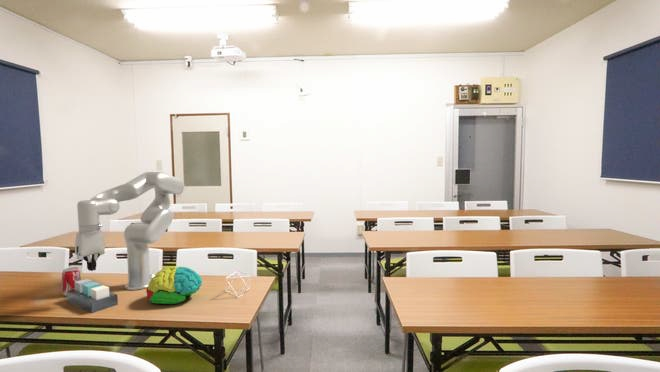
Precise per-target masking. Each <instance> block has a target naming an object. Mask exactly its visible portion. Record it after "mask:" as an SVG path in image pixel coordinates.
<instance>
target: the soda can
mask: <svg viewBox="0 0 660 372" xmlns="http://www.w3.org/2000/svg"><path fill="white" fill-rule="evenodd" d="M80 280H82V279H81V271H80V269H79V267H68V268H65V269H63V270H62V273H61V289H62V295H63V296H66V297H67V291H70V290H74V289H75V282H76V281H80Z"/></svg>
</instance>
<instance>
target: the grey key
mask: <svg viewBox="0 0 660 372" xmlns="http://www.w3.org/2000/svg"><path fill="white" fill-rule="evenodd" d="M91 282H93V280H92V279H89V278H84V279H81V280H80V281H76V282H75V292H77V293H82V292H83V289H82V285H83V284H87V283H91Z"/></svg>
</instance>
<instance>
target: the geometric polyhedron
mask: <svg viewBox="0 0 660 372" xmlns="http://www.w3.org/2000/svg"><path fill="white" fill-rule="evenodd" d="M240 273H241V274H243V275H244V276H243V275H242V276H241V274H240ZM232 275H234V276H232ZM236 275H239V278H241V280H242V281H243V283H244V286H243V288H242V291H240V294H239V296H238V295H237V292H236V290H235V289H234V288H233V286H232V285H231V284H232V283H233V281H234V279H235V278H238V276H236ZM231 276H232V277H231ZM247 277H248V278H247ZM229 278H230V279H232V280H231V282H229V281H228V280H229ZM243 278H247V280H246V281H245V280H244V279H243ZM250 278H251V276H250V275H249V274H246V273H244V272H241V271H238V270H237V271H235V272H234V273H232V274H230V275H228V276H226V278H225V281H226V282H227V283H228V284H229V285H228V287H227V288H226V290H225V293H226V292H227V293H228V290H229V289H230V288H231V289H232V291H234V292H233V293H234V294H235V296H236V298H237V297H238V298H237V299H240V298H241V297H240V296H242V294H243V292H244V291H243V290H245V288H247V290H249V289H251V288H250V286H251V285H250V284H251V279H250ZM248 281H249V282H248ZM247 283H248V285H247ZM248 286H249V287H248ZM239 297H240V298H239Z"/></svg>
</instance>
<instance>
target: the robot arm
mask: <svg viewBox="0 0 660 372" xmlns="http://www.w3.org/2000/svg"><path fill="white" fill-rule="evenodd" d="M152 189H153V190H154V194H155V195H154V199H153V200H152V202H151V203H150V204H149V205H148V207H146V209H145V210H144V211H143V212H142V213H141V215H140V221H141V222H140V223H139V222H136V223H135V222H134V223H130V224H129V225H127V226H126V227H125V229H124V232H123V233H124V235H123V237H124V240H125V244H126V253H127V257H126V259H127V276H128V277H127V281H128V282H127V283H125V284H124V288H125V290H127V291H128V290H130V291H137V290H143V289H147V287H148V285H149V283H150V281H151V280H152V278H153V277H154V276H155V275H156V274H157V273H155V274H154V273H152V274H151V271H150V269H151V268H150V249H149V244H151V245H152V244H155V243H156V242H158V241H159V239H160V238H161V237H162V236H163V235H164V234H165V232H166V231H167V229H168V228H170V226H171V224H172V221H173V216H174V215H173V213H172V211H171V210H170V209H169V208H170V207H171V198H170V195H178V194H181V193H183V191H184V190H185V183H184V180H182V179H181V178H179V177H176V176H173V175H170V174H168V173H165V172H162V171H146V172H143V173H142V174H139V175H138V176H136V177H134V178H133V179H131V180H129V181H127V182H125V183H122V184H120V185H118V186H115V187H112V188H109V189H106V190H104V191H101V192H99V193H98V194H96V195H95V196H93V197H91V198H90V199H84V200H83V199H82V200H80V201H78V202H77V207H76V209H77V221H78V222H77V223H78V232H77V233H76V235H75V243H74V254H75V256H76V259H77V260H84V261H85V262H86V269H87V270H88V271H91V272H93V271H96V269H97V261H98V259H99V257H100V256H102V255H104V254H105V253H106V251H105V249H106V246H105V238H104V234H103V231H102V229H101V228H102V227H104V225H103V224H102V223H100V216H109V215H110V216H111V215H114V214H116V213H117V212H118V211H119V210H120V208H121V205H120V203H121V202H125V201H130V200H135V199H137V198H138V197H140V196H142V195H144V194H145V193H147V192H148V191H150V190H152Z"/></svg>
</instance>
